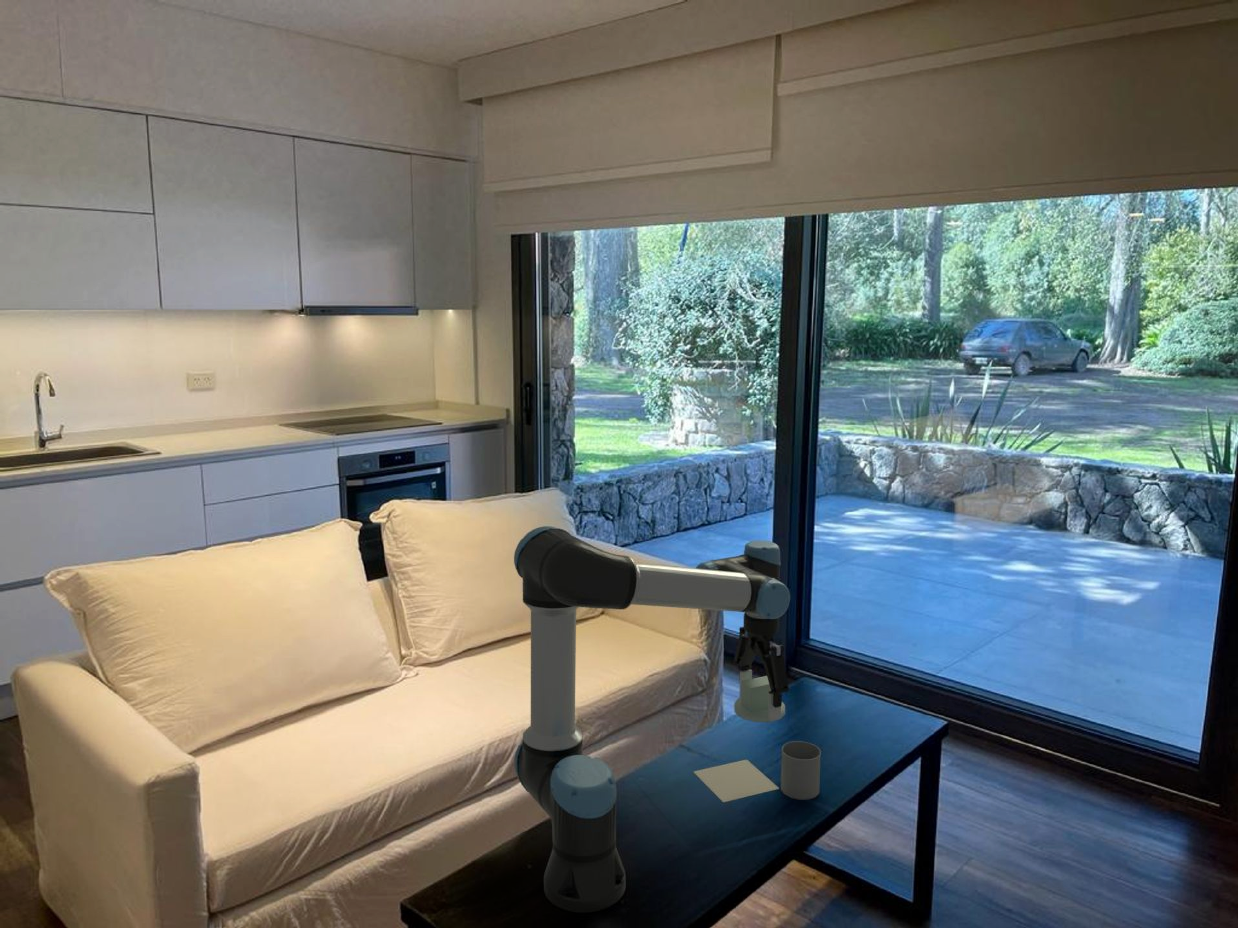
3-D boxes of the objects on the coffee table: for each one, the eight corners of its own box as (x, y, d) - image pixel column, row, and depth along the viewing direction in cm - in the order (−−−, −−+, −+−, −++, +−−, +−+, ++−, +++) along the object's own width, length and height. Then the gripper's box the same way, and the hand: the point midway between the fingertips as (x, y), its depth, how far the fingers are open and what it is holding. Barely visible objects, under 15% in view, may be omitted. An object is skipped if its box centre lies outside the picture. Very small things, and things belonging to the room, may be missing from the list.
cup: (819, 804, 199) (820, 761, 197) (780, 800, 201) (781, 757, 199) (818, 784, 207) (820, 742, 206) (781, 780, 209) (782, 739, 207)
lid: (751, 726, 197) (751, 696, 195) (724, 705, 206) (725, 676, 205) (795, 716, 201) (795, 686, 200) (767, 696, 211) (767, 667, 210)
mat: (723, 805, 199) (723, 801, 199) (693, 774, 212) (693, 771, 212) (779, 791, 204) (779, 788, 204) (746, 762, 217) (746, 759, 217)
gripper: (808, 627, 190) (805, 727, 195) (747, 594, 211) (746, 684, 216) (777, 633, 187) (774, 734, 192) (718, 599, 208) (717, 690, 213)
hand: (759, 708), depth 204 cm, fingers closed on lid, 11 cm apart
